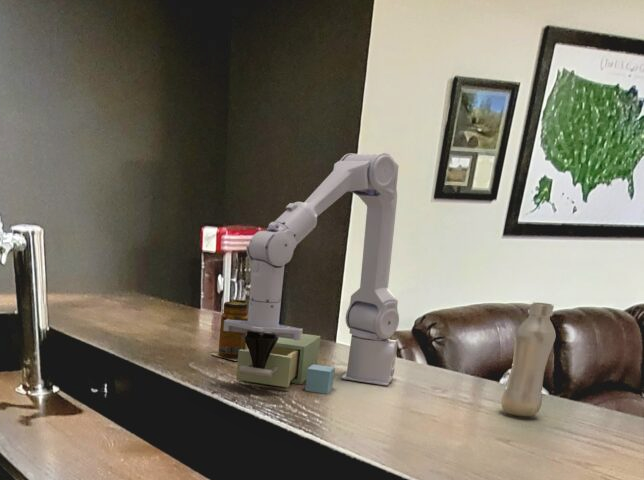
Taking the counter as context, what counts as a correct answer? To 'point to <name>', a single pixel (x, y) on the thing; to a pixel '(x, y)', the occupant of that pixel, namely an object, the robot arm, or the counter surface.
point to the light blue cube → (319, 379)
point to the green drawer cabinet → (302, 353)
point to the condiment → (230, 339)
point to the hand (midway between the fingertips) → (258, 373)
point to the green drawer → (270, 367)
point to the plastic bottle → (529, 361)
